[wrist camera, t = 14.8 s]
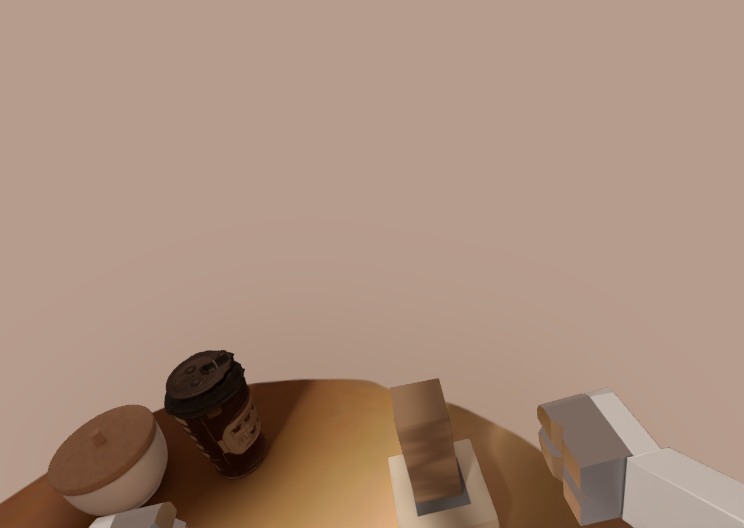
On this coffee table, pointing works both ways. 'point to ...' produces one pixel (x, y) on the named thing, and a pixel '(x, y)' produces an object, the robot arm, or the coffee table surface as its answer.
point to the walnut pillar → (426, 440)
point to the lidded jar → (111, 462)
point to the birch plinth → (449, 515)
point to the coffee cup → (217, 411)
